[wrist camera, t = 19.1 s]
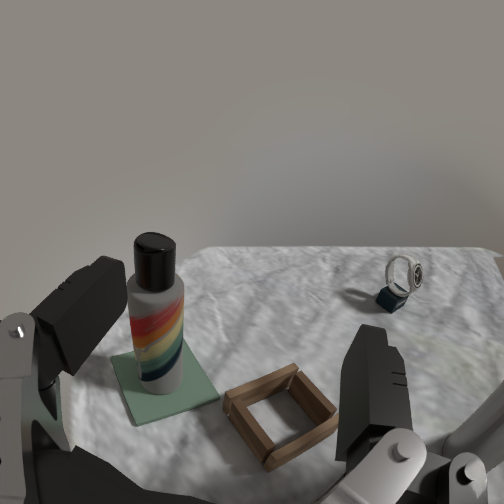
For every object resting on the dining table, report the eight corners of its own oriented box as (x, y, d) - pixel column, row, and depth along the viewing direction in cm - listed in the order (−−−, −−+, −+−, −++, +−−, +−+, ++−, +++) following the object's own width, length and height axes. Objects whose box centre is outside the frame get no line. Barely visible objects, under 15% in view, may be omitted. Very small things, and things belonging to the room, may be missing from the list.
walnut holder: (286, 380, 40) (294, 362, 38) (333, 433, 33) (345, 417, 31) (222, 409, 35) (225, 391, 33) (268, 472, 28) (276, 460, 26)
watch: (398, 319, 55) (421, 272, 50) (369, 296, 60) (388, 250, 55) (411, 310, 58) (432, 265, 53) (383, 289, 64) (401, 245, 58)
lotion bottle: (130, 372, 36) (112, 232, 26) (166, 355, 40) (165, 219, 30) (155, 403, 33) (142, 263, 23) (192, 382, 37) (200, 244, 27)
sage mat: (183, 340, 43) (183, 337, 43) (219, 398, 36) (220, 396, 36) (111, 359, 38) (110, 356, 37) (137, 426, 30) (136, 424, 30)
